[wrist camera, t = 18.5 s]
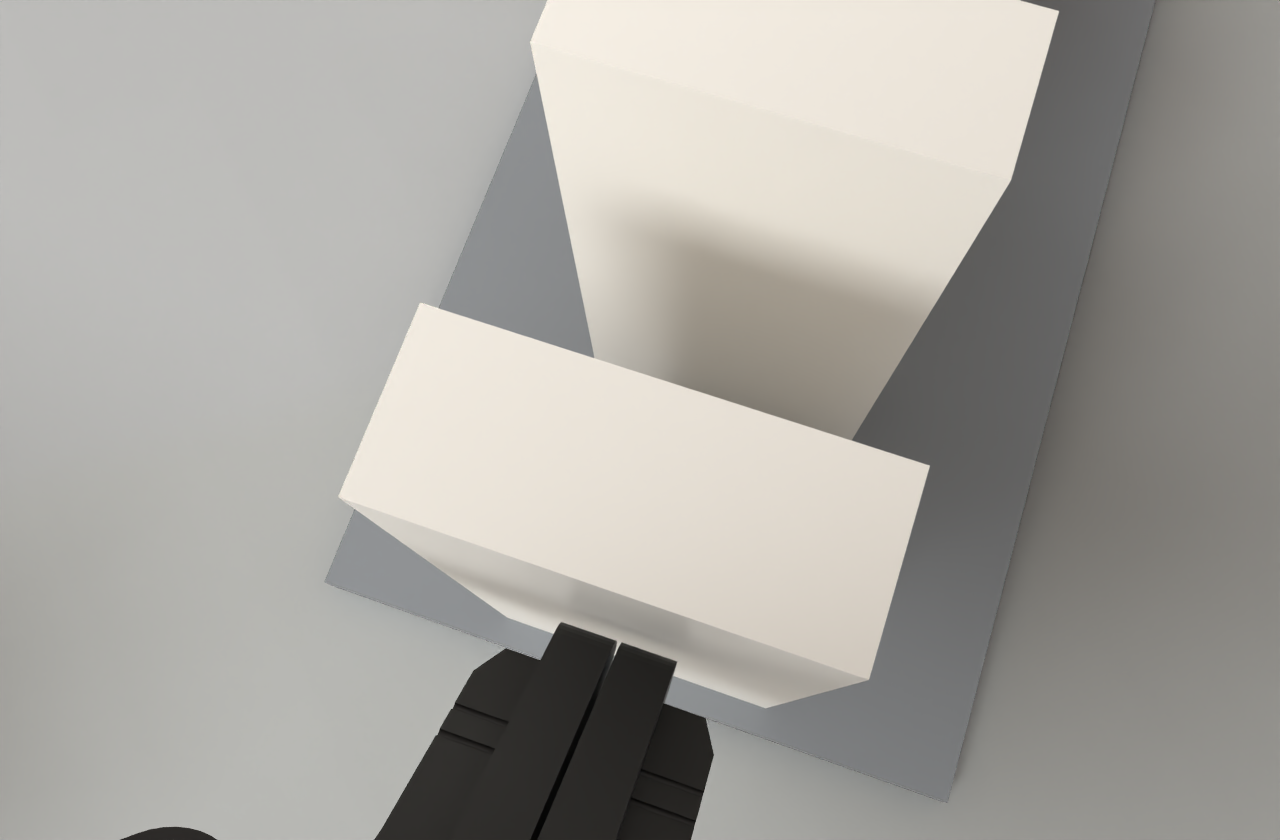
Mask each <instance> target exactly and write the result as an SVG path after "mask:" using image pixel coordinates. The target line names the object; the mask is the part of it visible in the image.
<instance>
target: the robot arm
mask: <svg viewBox="0 0 1280 840" xmlns="http://www.w3.org/2000/svg"><path fill="white" fill-rule="evenodd" d="M616 646H617V641H616V640H613V639H610V638H607V637H604V636H601V635H598V634H595V633H593V632H590V631H587V630H584V629H581V628H578V627H575V626H572V625H569V624H566V623H564V622H561V623H560V624H559V625H558V627H557V628H556V630H555V632H554V634H553V636H552V638H551V640H550V642H549V644H548V646H547V648H546V650H545V652H544V654H543V656H542V658H541V660H538V659H535V658H532V657H529V656H526V655H523V654H521V653H518V652H515V651H512V650H509V649H504V650H503V651H501V652H500V653H498V654H497V655H496V656H494V657H493V658H491V659H490V660H488V661H487V662H485V663H484V664H482V665H481V666H480V667H478V668H477V669H475V670H474V671H473V672H472V674H471V676H470V678H469V679H468V681H467V683H466V685H465V686H464V688H463V690H462V691H461V693H460V695H459V697H458V698H457V700H456V702H455V705H454V707H453V709H451V710H450V712H449V714H448V716H447V717H446V719H445V721H444V722H443V724H442V726H441V728H440V730H439V733H438V735H436V736H435V738H434V740H433V741H432V743H431V745H430V747H429V748H428V750H427V752H426V753H425V755H424V757H423V759H422V760H421V762H420V764H419V765H418V767H417V769H416V771H415V772H414V774H413V776H412V778H411V779H410V781H409V783H408V784H407V786H406V788H405V790H404V791H403V793H402V795H401V796H400V798H399V800H398V802H397V803H396V805H395V807H394V809H393V810H392V812H391V814H390V815H389V817H388V819H387V821H386V822H385V824H384V826H383V827H382V829H381V831H380V832H379V834H378V835H377V836H376V838H375V839H374V840H691V837H692V833H693V830H694V825H695V822H696V819H697V815H698V811H699V808H700V804H701V800H702V796H703V793H704V789H705V785H706V782H707V778H708V774H709V771H710V767H711V763H712V760H713V756H714V754H713V750H712V745H711V741H710V736H709V732H708V727H707V723H706V718H704V717H702V716H699V715H696V714H693V713H690V712H687V711H684V710H682V709H679V708H676V707H673V706H670V705H667V704H665V701H666V698H667V694H668V691H669V688H670V685H671V681H672V678H673V675H674V672H675V668H676V665H677V661H675V660H672V659H669V658H666V657H663V656H660V655H657V654H654V653H651V652H649V651H646V650H643V649H640V648H637V647H634V646H631V645H628V644H625V643H621V644H620V646H619V648H618V650H617V652H616V655H615V657H614V654H615V650H616ZM613 658H614V659H613ZM121 840H216V839H215V838H214V837H212V836H210V835H208V834H206V833H203V832H201V831H198V830H194V829H190V828H182V827H162V828H157V829H151V830H147V831H144V832H141V833H137V834H134V835H132V836H129V837H127V838H124V839H121Z"/></svg>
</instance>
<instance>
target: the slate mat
mask: <svg viewBox="0 0 1280 840" xmlns="http://www.w3.org/2000/svg"><path fill="white" fill-rule="evenodd" d="M1020 1H1024V2H1027V3H1031V4H1035V5H1038V6H1042V7H1046V8H1050V9H1053V10H1057V11H1059V13H1058V17H1057V20H1056V24H1055V27H1054V31H1053V34H1052V38H1051V42H1050V45H1049V49H1048V52H1047V56H1046V59H1045V63H1044V66H1043V70H1042V73H1041V77H1040V80H1039V84H1038V87H1037V91H1036V94H1035V98H1034V101H1033V105H1032V108H1031V112H1030V115H1029V119H1028V122H1027V126H1026V129H1025V133H1024V136H1023V140H1022V144H1021V147H1020V151H1019V154H1018V158H1017V161H1016V165H1015V168H1014V172H1013V175H1012V179H1011V181H1010V183H1009V185H1008V186H1007V188H1006V189H1005V191H1004V193H1003V194H1002V196H1001V198H1000V199H999V201H998V202H997V204H996V206H995V207H994V209H993V211H992V212H991V214H990V216H989V217H988V219H987V220H986V222H985V224H984V225H983V227H982V229H981V230H980V232H979V233H978V235H977V237H976V238H975V240H974V242H973V243H972V245H971V246H970V248H969V250H968V251H967V253H966V255H965V256H964V258H963V260H962V261H961V263H960V264H959V266H958V268H957V269H956V271H955V273H954V274H953V276H952V277H951V279H950V281H949V282H948V284H947V286H946V287H945V289H944V290H943V292H942V294H941V295H940V297H939V299H938V300H937V302H936V304H935V305H934V307H933V308H932V310H931V312H930V313H929V315H928V317H927V318H926V320H925V321H924V323H923V325H922V326H921V328H920V330H919V331H918V333H917V335H916V336H915V338H914V339H913V341H912V343H911V344H910V346H909V348H908V349H907V351H906V352H905V354H904V356H903V357H902V359H901V361H900V362H899V364H898V365H897V367H896V369H895V370H894V372H893V374H892V375H891V377H890V379H889V380H888V382H887V383H886V385H885V387H884V388H883V390H882V392H881V393H880V395H879V396H878V398H877V400H876V401H875V403H874V405H873V406H872V408H871V409H870V411H869V413H868V414H867V416H866V418H865V419H864V421H863V423H862V424H861V426H860V427H859V429H858V431H857V432H856V434H855V436H854V437H853V439H852V440H851V441H854V442H857V443H861V444H864V445H867V446H870V447H873V448H876V449H879V450H882V451H886V452H889V453H892V454H895V455H898V456H901V457H904V458H907V459H911V460H914V461H917V462H920V463H923V464H926V465H929V466H930V467H929V471H928V474H927V478H926V481H925V485H924V488H923V492H922V495H921V499H920V502H919V506H918V509H917V513H916V516H915V520H914V524H913V527H912V531H911V534H910V538H909V541H908V545H907V548H906V552H905V555H904V559H903V562H902V566H901V569H900V573H899V576H898V580H897V583H896V587H895V590H894V594H893V597H892V601H891V604H890V608H889V611H888V615H887V618H886V622H885V625H884V629H883V633H882V636H881V640H880V643H879V647H878V650H877V654H876V657H875V661H874V664H873V668H872V671H871V675H870V678H869V680H867V681H863V682H860V683H856V684H852V685H849V686H845V687H842V688H838V689H834V690H831V691H827V692H823V693H820V694H816V695H812V696H809V697H805V698H802V699H798V700H794V701H791V702H787V703H783V704H780V705H776V706H772V707H769V708H763V707H760V706H757V705H755V704H752V703H749V702H746V701H743V700H740V699H737V698H735V697H732V696H729V695H726V694H723V693H720V692H718V691H715V690H712V689H709V688H706V687H703V686H700V685H698V684H695V683H692V682H689V681H686V680H683V679H681V678H678V677H675V676H673V678H672V681H671V685H670V688H669V691H668V694H667V698H666V701H665V704H668V705H671V706H674V707H676V708H679V709H682V710H685V711H688V712H691V713H693V714H696V715H699V716H702V717H705V718H708V719H710V720H713V721H716V722H719V723H722V724H724V725H727V726H730V727H733V728H736V729H739V730H741V731H744V732H747V733H750V734H753V735H756V736H758V737H761V738H764V739H767V740H770V741H772V742H775V743H778V744H781V745H784V746H787V747H789V748H792V749H795V750H798V751H801V752H803V753H806V754H809V755H812V756H815V757H818V758H820V759H823V760H826V761H829V762H832V763H835V764H837V765H840V766H843V767H846V768H849V769H851V770H854V771H857V772H860V773H863V774H866V775H868V776H871V777H874V778H877V779H880V780H883V781H885V782H888V783H891V784H894V785H897V786H899V787H902V788H905V789H908V790H911V791H914V792H916V793H919V794H922V795H925V796H928V797H931V798H933V799H936V800H939V801H942V802H946V803H948V799H949V795H950V791H951V787H952V783H953V780H954V776H955V772H956V768H957V764H958V760H959V756H960V753H961V749H962V745H963V741H964V737H965V733H966V729H967V726H968V722H969V718H970V714H971V710H972V706H973V702H974V699H975V695H976V691H977V687H978V683H979V679H980V675H981V672H982V668H983V664H984V660H985V656H986V652H987V648H988V645H989V641H990V637H991V633H992V629H993V625H994V621H995V618H996V614H997V610H998V606H999V602H1000V598H1001V594H1002V591H1003V587H1004V583H1005V579H1006V575H1007V571H1008V567H1009V564H1010V560H1011V556H1012V552H1013V548H1014V544H1015V540H1016V537H1017V533H1018V529H1019V525H1020V521H1021V517H1022V514H1023V510H1024V506H1025V502H1026V498H1027V494H1028V490H1029V487H1030V483H1031V479H1032V475H1033V471H1034V467H1035V463H1036V460H1037V456H1038V452H1039V448H1040V444H1041V440H1042V436H1043V433H1044V429H1045V425H1046V421H1047V417H1048V413H1049V409H1050V406H1051V402H1052V398H1053V394H1054V390H1055V386H1056V382H1057V379H1058V375H1059V371H1060V367H1061V363H1062V359H1063V355H1064V352H1065V348H1066V344H1067V340H1068V336H1069V332H1070V328H1071V325H1072V321H1073V317H1074V313H1075V309H1076V305H1077V301H1078V298H1079V294H1080V290H1081V286H1082V282H1083V278H1084V274H1085V271H1086V267H1087V263H1088V259H1089V255H1090V251H1091V247H1092V244H1093V240H1094V236H1095V232H1096V228H1097V224H1098V221H1099V217H1100V213H1101V209H1102V205H1103V201H1104V197H1105V194H1106V190H1107V186H1108V182H1109V178H1110V174H1111V170H1112V167H1113V163H1114V159H1115V155H1116V151H1117V147H1118V143H1119V140H1120V136H1121V132H1122V128H1123V124H1124V120H1125V116H1126V113H1127V109H1128V105H1129V101H1130V97H1131V93H1132V89H1133V86H1134V82H1135V78H1136V74H1137V70H1138V66H1139V62H1140V59H1141V55H1142V51H1143V47H1144V43H1145V39H1146V35H1147V32H1148V28H1149V24H1150V20H1151V16H1152V12H1153V8H1154V5H1155V1H1156V0H1020ZM439 309H442V310H445V311H448V312H451V313H455V314H458V315H461V316H464V317H467V318H470V319H473V320H476V321H480V322H483V323H486V324H489V325H492V326H495V327H498V328H501V329H505V330H508V331H511V332H514V333H517V334H520V335H523V336H526V337H530V338H533V339H536V340H539V341H542V342H545V343H548V344H551V345H555V346H558V347H561V348H564V349H567V350H570V351H573V352H576V353H579V354H583V355H586V356H589V357H592V358H594V353H593V348H592V343H591V338H590V333H589V328H588V323H587V319H586V314H585V309H584V304H583V299H582V294H581V289H580V284H579V279H578V274H577V269H576V265H575V260H574V255H573V250H572V245H571V240H570V235H569V230H568V225H567V220H566V215H565V211H564V206H563V201H562V196H561V191H560V186H559V181H558V176H557V171H556V166H555V161H554V157H553V152H552V147H551V142H550V137H549V132H548V127H547V122H546V117H545V112H544V107H543V103H542V98H541V93H540V88H539V83H538V78H537V73H536V76H535V78H534V80H533V83H532V85H531V88H530V90H529V92H528V95H527V97H526V100H525V102H524V104H523V107H522V109H521V112H520V114H519V116H518V119H517V121H516V124H515V126H514V128H513V131H512V133H511V136H510V138H509V140H508V143H507V145H506V148H505V150H504V152H503V155H502V157H501V160H500V162H499V164H498V167H497V169H496V172H495V174H494V176H493V179H492V181H491V184H490V186H489V188H488V191H487V193H486V196H485V198H484V200H483V203H482V205H481V208H480V210H479V212H478V215H477V217H476V220H475V222H474V224H473V227H472V229H471V232H470V234H469V236H468V239H467V241H466V244H465V246H464V248H463V251H462V253H461V255H460V258H459V260H458V263H457V265H456V267H455V270H454V272H453V275H452V277H451V279H450V282H449V284H448V287H447V289H446V291H445V294H444V296H443V299H442V301H441V303H440V306H439ZM325 583H328V584H330V585H332V586H335V587H338V588H341V589H343V590H346V591H349V592H352V593H355V594H358V595H360V596H363V597H366V598H369V599H372V600H374V601H377V602H380V603H383V604H386V605H389V606H391V607H394V608H397V609H400V610H403V611H405V612H408V613H411V614H414V615H417V616H420V617H422V618H425V619H428V620H431V621H434V622H437V623H439V624H442V625H445V626H448V627H451V628H453V629H456V630H459V631H462V632H465V633H468V634H470V635H473V636H476V637H479V638H482V639H485V640H487V641H490V642H493V643H496V644H499V645H501V646H504V647H507V648H510V649H513V650H516V651H518V652H521V653H524V654H527V655H530V656H533V657H535V658H538V659H541V658H542V656H543V654H544V652H545V650H546V648H547V646H548V644H549V642H550V640H551V638H552V636H553V634H552V633H549V632H547V631H544V630H541V629H538V628H535V627H532V626H530V625H527V624H524V623H521V622H518V621H515V620H512V619H510V618H507V617H506V616H504V615H503V614H501V613H500V612H499V611H497V610H496V609H494V608H493V607H492V606H490V605H489V604H487V603H486V602H485V601H483V600H482V599H480V598H479V597H478V596H476V595H475V594H473V593H472V592H471V591H469V590H468V589H466V588H465V587H464V586H462V585H461V584H459V583H458V582H457V581H455V580H454V579H452V578H451V577H450V576H448V575H447V574H445V573H444V572H442V571H441V570H440V569H438V568H437V567H435V566H434V565H433V564H431V563H430V562H428V561H427V560H426V559H424V558H423V557H421V556H420V555H419V554H417V553H416V552H414V551H413V550H412V549H410V548H409V547H407V546H406V545H405V544H403V543H402V542H400V541H399V540H398V539H396V538H395V537H393V536H392V535H391V534H389V533H388V532H386V531H385V530H384V529H382V528H381V527H379V526H378V525H376V524H375V523H374V522H372V521H371V520H369V519H368V518H367V517H365V516H364V515H362V514H361V513H360V512H358V511H357V510H354V512H353V514H352V517H351V519H350V522H349V524H348V526H347V529H346V531H345V534H344V536H343V538H342V541H341V543H340V546H339V548H338V550H337V553H336V555H335V558H334V560H333V562H332V565H331V567H330V570H329V572H328V574H327V577H326V579H325ZM614 657H615V655H614ZM613 659H614V658H613Z"/></svg>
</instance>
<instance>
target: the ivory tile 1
mask: <svg viewBox="0 0 1280 840" xmlns="http://www.w3.org/2000/svg"><path fill="white" fill-rule="evenodd" d="M929 467H930V466H929V465H926V464H923V463H920V462H917V461H914V460H911V459H907V458H904V457H901V456H898V455H895V454H892V453H889V452H886V451H882V450H879V449H876V448H873V447H870V446H867V445H864V444H861V443H857V442H854V441H851V440H848V439H845V438H842V437H839V436H836V435H832V434H829V433H826V432H823V431H820V430H817V429H814V428H811V427H807V426H804V425H801V424H798V423H795V422H792V421H789V420H786V419H782V418H779V417H776V416H773V415H770V414H767V413H764V412H761V411H758V410H754V409H751V408H748V407H745V406H742V405H739V404H736V403H733V402H729V401H726V400H723V399H720V398H717V397H714V396H711V395H708V394H704V393H701V392H698V391H695V390H692V389H689V388H686V387H683V386H679V385H676V384H673V383H670V382H667V381H664V380H661V379H658V378H654V377H651V376H648V375H645V374H642V373H639V372H636V371H633V370H629V369H626V368H623V367H620V366H617V365H614V364H611V363H608V362H604V361H601V360H598V359H595V358H592V357H589V356H586V355H583V354H579V353H576V352H573V351H570V350H567V349H564V348H561V347H558V346H555V345H551V344H548V343H545V342H542V341H539V340H536V339H533V338H530V337H526V336H523V335H520V334H517V333H514V332H511V331H508V330H505V329H501V328H498V327H495V326H492V325H489V324H486V323H483V322H480V321H476V320H473V319H470V318H467V317H464V316H461V315H458V314H455V313H451V312H448V311H445V310H442V309H439V308H436V307H433V306H430V305H426V304H423V303H420V304H419V306H418V309H417V311H416V313H415V316H414V318H413V321H412V323H411V325H410V328H409V330H408V332H407V335H406V337H405V340H404V342H403V344H402V347H401V349H400V351H399V354H398V356H397V358H396V361H395V363H394V366H393V368H392V370H391V373H390V375H389V377H388V380H387V382H386V385H385V387H384V389H383V392H382V394H381V396H380V399H379V401H378V403H377V406H376V408H375V411H374V413H373V415H372V418H371V420H370V422H369V425H368V427H367V430H366V432H365V434H364V437H363V439H362V441H361V444H360V446H359V449H358V451H357V453H356V456H355V458H354V460H353V463H352V465H351V467H350V470H349V472H348V475H347V477H346V479H345V482H344V484H343V486H342V489H341V491H340V494H339V496H338V497H339V498H340V499H341V500H343V501H344V502H346V503H347V504H348V505H350V506H351V507H353V508H354V509H355V510H357V511H358V512H360V513H361V514H362V515H364V516H365V517H367V518H368V519H369V520H371V521H372V522H374V523H375V524H376V525H378V526H379V527H381V528H382V529H384V530H385V531H386V532H388V533H389V534H391V535H392V536H393V537H395V538H396V539H398V540H399V541H400V542H402V543H403V544H405V545H406V546H407V547H409V548H410V549H412V550H413V551H414V552H416V553H417V554H419V555H420V556H421V557H423V558H424V559H426V560H427V561H428V562H430V563H431V564H433V565H434V566H435V567H437V568H438V569H440V570H441V571H442V572H444V573H445V574H447V575H448V576H450V577H451V578H452V579H454V580H455V581H457V582H458V583H459V584H461V585H462V586H464V587H465V588H466V589H468V590H469V591H471V592H472V593H473V594H475V595H476V596H478V597H479V598H480V599H482V600H483V601H485V602H486V603H487V604H489V605H490V606H492V607H493V608H494V609H496V610H497V611H499V612H500V613H501V614H503V615H504V616H506V617H507V618H510V619H512V620H515V621H518V622H521V623H524V624H527V625H530V626H532V627H535V628H538V629H541V630H544V631H547V632H549V633H552V634H554V632H555V630H556V628H557V627H558V625H559V624H560V623H561V622H564V623H566V624H569V625H572V626H575V627H578V628H581V629H584V630H587V631H590V632H593V633H595V634H598V635H601V636H604V637H607V638H610V639H613V640H616V641H617V646H616V650H615V654H614V655H616V652H617V650H618V648H619V646H620V644H621V643H625V644H628V645H631V646H634V647H637V648H640V649H643V650H646V651H649V652H651V653H654V654H657V655H660V656H663V657H666V658H669V659H672V660H675V661H677V665H676V668H675V672H674V675H673V676H675V677H678V678H681V679H683V680H686V681H689V682H692V683H695V684H698V685H700V686H703V687H706V688H709V689H712V690H715V691H718V692H720V693H723V694H726V695H729V696H732V697H735V698H737V699H740V700H743V701H746V702H749V703H752V704H755V705H757V706H760V707H763V708H769V707H772V706H776V705H780V704H783V703H787V702H791V701H794V700H798V699H802V698H805V697H809V696H812V695H816V694H820V693H823V692H827V691H831V690H834V689H838V688H842V687H845V686H849V685H852V684H856V683H860V682H863V681H867V680H869V678H870V675H871V671H872V668H873V664H874V661H875V657H876V654H877V650H878V647H879V643H880V640H881V636H882V633H883V629H884V625H885V622H886V618H887V615H888V611H889V608H890V604H891V601H892V597H893V594H894V590H895V587H896V583H897V580H898V576H899V573H900V569H901V566H902V562H903V559H904V555H905V552H906V548H907V545H908V541H909V538H910V534H911V531H912V527H913V524H914V520H915V516H916V513H917V509H918V506H919V502H920V499H921V495H922V492H923V488H924V485H925V481H926V478H927V474H928V471H929Z"/></svg>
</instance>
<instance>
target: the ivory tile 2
mask: <svg viewBox="0 0 1280 840" xmlns="http://www.w3.org/2000/svg"><path fill="white" fill-rule="evenodd" d="M1058 13H1059V11H1057V10H1053V9H1050V8H1046V7H1042V6H1038V5H1035V4H1031V3H1027V2H1024V1H1020V0H548V1H547V3H546V5H545V8H544V10H543V12H542V15H541V17H540V20H539V22H538V24H537V27H536V29H535V31H534V34H533V36H532V39H531V41H530V44H531V49H532V54H533V58H534V63H535V68H536V73H537V78H538V83H539V88H540V93H541V98H542V103H543V107H544V112H545V117H546V122H547V127H548V132H549V137H550V142H551V147H552V152H553V157H554V161H555V166H556V171H557V176H558V181H559V186H560V191H561V196H562V201H563V206H564V211H565V215H566V220H567V225H568V230H569V235H570V240H571V245H572V250H573V255H574V260H575V265H576V269H577V274H578V279H579V284H580V289H581V294H582V299H583V304H584V309H585V314H586V319H587V323H588V328H589V333H590V338H591V343H592V348H593V353H594V358H595V359H598V360H601V361H604V362H608V363H611V364H614V365H617V366H620V367H623V368H626V369H629V370H633V371H636V372H639V373H642V374H645V375H648V376H651V377H654V378H658V379H661V380H664V381H667V382H670V383H673V384H676V385H679V386H683V387H686V388H689V389H692V390H695V391H698V392H701V393H704V394H708V395H711V396H714V397H717V398H720V399H723V400H726V401H729V402H733V403H736V404H739V405H742V406H745V407H748V408H751V409H754V410H758V411H761V412H764V413H767V414H770V415H773V416H776V417H779V418H782V419H786V420H789V421H792V422H795V423H798V424H801V425H804V426H807V427H811V428H814V429H817V430H820V431H823V432H826V433H829V434H832V435H836V436H839V437H842V438H845V439H848V440H852V439H853V437H854V436H855V434H856V432H857V431H858V429H859V427H860V426H861V424H862V423H863V421H864V419H865V418H866V416H867V414H868V413H869V411H870V409H871V408H872V406H873V405H874V403H875V401H876V400H877V398H878V396H879V395H880V393H881V392H882V390H883V388H884V387H885V385H886V383H887V382H888V380H889V379H890V377H891V375H892V374H893V372H894V370H895V369H896V367H897V365H898V364H899V362H900V361H901V359H902V357H903V356H904V354H905V352H906V351H907V349H908V348H909V346H910V344H911V343H912V341H913V339H914V338H915V336H916V335H917V333H918V331H919V330H920V328H921V326H922V325H923V323H924V321H925V320H926V318H927V317H928V315H929V313H930V312H931V310H932V308H933V307H934V305H935V304H936V302H937V300H938V299H939V297H940V295H941V294H942V292H943V290H944V289H945V287H946V286H947V284H948V282H949V281H950V279H951V277H952V276H953V274H954V273H955V271H956V269H957V268H958V266H959V264H960V263H961V261H962V260H963V258H964V256H965V255H966V253H967V251H968V250H969V248H970V246H971V245H972V243H973V242H974V240H975V238H976V237H977V235H978V233H979V232H980V230H981V229H982V227H983V225H984V224H985V222H986V220H987V219H988V217H989V216H990V214H991V212H992V211H993V209H994V207H995V206H996V204H997V202H998V201H999V199H1000V198H1001V196H1002V194H1003V193H1004V191H1005V189H1006V188H1007V186H1008V185H1009V183H1010V181H1011V179H1012V175H1013V172H1014V168H1015V165H1016V161H1017V158H1018V154H1019V151H1020V147H1021V144H1022V140H1023V136H1024V133H1025V129H1026V126H1027V122H1028V119H1029V115H1030V112H1031V108H1032V105H1033V101H1034V98H1035V94H1036V91H1037V87H1038V84H1039V80H1040V77H1041V73H1042V70H1043V66H1044V63H1045V59H1046V56H1047V52H1048V49H1049V45H1050V42H1051V38H1052V34H1053V31H1054V27H1055V24H1056V20H1057V17H1058Z"/></svg>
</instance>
